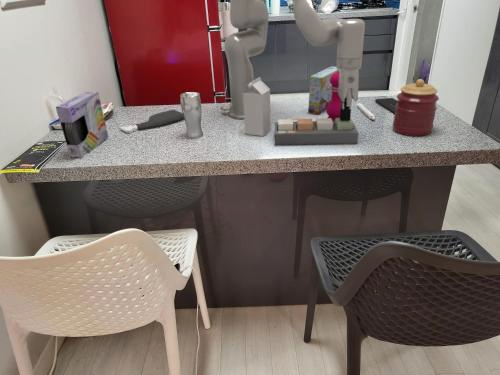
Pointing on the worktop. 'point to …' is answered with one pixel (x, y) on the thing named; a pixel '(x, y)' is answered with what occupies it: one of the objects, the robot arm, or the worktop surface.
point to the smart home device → (387, 104)
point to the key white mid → (324, 124)
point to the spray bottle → (157, 121)
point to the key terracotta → (304, 124)
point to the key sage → (343, 124)
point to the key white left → (285, 124)
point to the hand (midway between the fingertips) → (344, 119)
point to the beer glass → (192, 113)
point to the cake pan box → (82, 123)
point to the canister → (415, 109)
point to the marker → (366, 111)
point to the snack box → (320, 91)
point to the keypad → (315, 136)
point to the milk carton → (257, 108)
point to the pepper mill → (334, 98)
